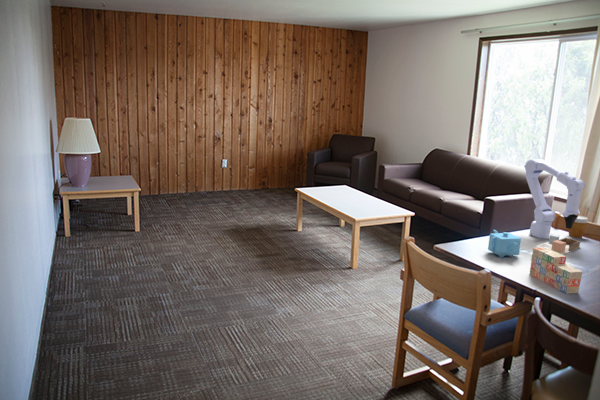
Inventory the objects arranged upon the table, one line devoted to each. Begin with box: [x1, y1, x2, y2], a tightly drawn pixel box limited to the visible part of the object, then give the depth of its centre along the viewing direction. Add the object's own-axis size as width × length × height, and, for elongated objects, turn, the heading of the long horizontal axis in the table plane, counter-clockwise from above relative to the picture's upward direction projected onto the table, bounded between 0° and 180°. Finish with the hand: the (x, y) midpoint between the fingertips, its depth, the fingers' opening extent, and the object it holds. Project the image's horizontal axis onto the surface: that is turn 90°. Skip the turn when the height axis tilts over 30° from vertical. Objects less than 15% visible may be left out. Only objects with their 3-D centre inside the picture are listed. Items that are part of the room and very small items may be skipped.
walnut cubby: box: [558, 237, 581, 252], centre depth 243 cm, size 7×11×3 cm
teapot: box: [487, 229, 522, 259], centre depth 232 cm, size 16×18×11 cm
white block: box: [548, 233, 560, 243], centre depth 250 cm, size 4×4×4 cm
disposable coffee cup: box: [568, 215, 589, 239], centre depth 263 cm, size 10×10×12 cm
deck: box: [534, 241, 581, 255], centre depth 243 cm, size 14×20×1 cm
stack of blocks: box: [529, 246, 583, 295], centre depth 198 cm, size 21×6×12 cm, turn 13°
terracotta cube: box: [550, 240, 566, 253], centre depth 237 cm, size 4×4×4 cm
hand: (568, 228), depth 246 cm, fingers closed
